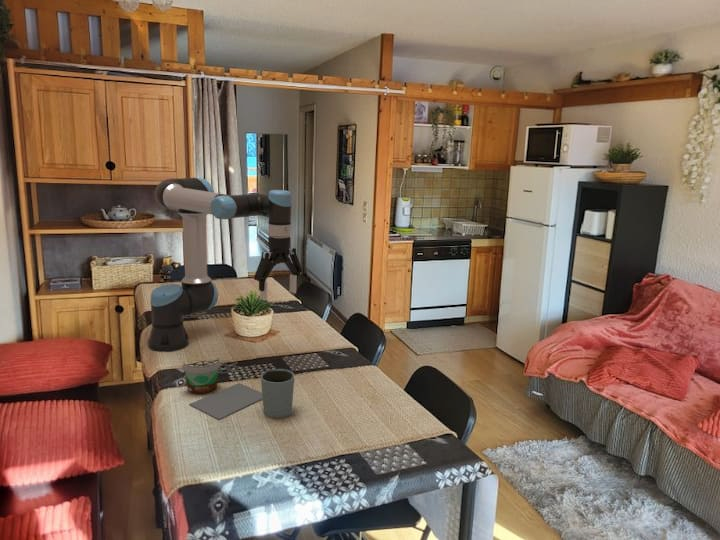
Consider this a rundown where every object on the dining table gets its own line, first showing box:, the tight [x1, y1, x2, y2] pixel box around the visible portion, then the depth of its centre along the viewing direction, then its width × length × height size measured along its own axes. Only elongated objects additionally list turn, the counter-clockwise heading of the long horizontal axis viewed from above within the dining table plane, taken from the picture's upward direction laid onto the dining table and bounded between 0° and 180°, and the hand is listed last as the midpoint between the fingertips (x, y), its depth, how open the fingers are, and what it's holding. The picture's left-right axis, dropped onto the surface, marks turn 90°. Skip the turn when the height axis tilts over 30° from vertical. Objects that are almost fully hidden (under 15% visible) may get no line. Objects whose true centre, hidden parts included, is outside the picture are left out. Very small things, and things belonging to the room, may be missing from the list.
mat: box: [188, 382, 263, 421], centre depth 169 cm, size 14×20×1 cm
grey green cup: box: [260, 368, 295, 420], centre depth 163 cm, size 10×10×12 cm
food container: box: [181, 357, 222, 395], centre depth 173 cm, size 12×6×10 cm, turn 118°
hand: (278, 296), depth 188 cm, fingers open, 13 cm apart
